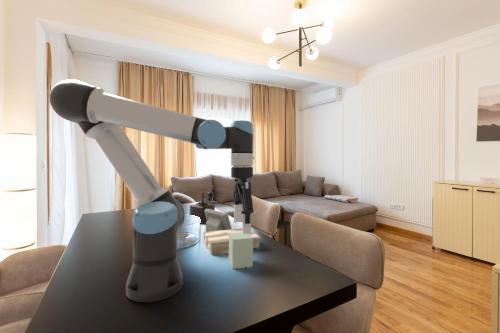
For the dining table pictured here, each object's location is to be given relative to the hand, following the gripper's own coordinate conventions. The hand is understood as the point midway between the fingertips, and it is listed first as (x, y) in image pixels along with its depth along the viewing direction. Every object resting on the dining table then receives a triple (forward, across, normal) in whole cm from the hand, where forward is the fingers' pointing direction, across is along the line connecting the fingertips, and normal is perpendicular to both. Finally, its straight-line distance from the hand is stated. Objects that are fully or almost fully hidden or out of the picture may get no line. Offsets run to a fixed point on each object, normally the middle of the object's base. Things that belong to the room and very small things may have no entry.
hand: (241, 227), depth 87 cm
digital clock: (+13, +38, +3) cm, 40 cm away
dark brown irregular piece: (+13, +57, +8) cm, 59 cm away
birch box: (+13, +18, 0) cm, 22 cm away
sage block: (+13, 0, 0) cm, 13 cm away
